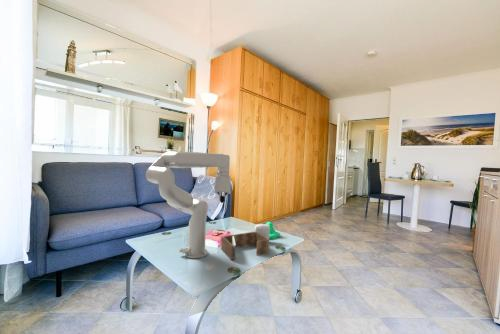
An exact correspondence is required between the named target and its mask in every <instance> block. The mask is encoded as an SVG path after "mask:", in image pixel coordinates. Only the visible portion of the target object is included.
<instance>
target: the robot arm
mask: <svg viewBox="0 0 500 334" xmlns="http://www.w3.org/2000/svg"><path fill="white" fill-rule="evenodd" d="M230 159H231V158H230V155H229V154H224V153H207V152H197V151H196V152H195V151H192V152H191V151H167V152H164V153H163V154H162V155H161V156H160V157H159V158H157V159H156V160H155V162H153V163H152V164H151V165H150V166H149V167H148V168H147V169H146V171H145V178H146V180H147V181H148V182H149V183H152V184H156V185H158V191H159V195H160V197H161V198H162V199H164V200H165V201H166V203H167V204H168V206H170V207H172V208H173V209H175V210H178V211H180V212H183V213H184V214H188V215H191V217H190V218H189V222H188V238H187V239H188V242H187V244H188V245H186V246H185V248H179V251H178V252H179V253H182V254H184V255H185V257H186V258H189V259H193V260H194V259H195V260H196V259H201V258H204V257H206V256H207V255H208V254H209V252H208V249H207V248H206V236H207V235H206V234H207V233H206V230H207V229H206V228H207V217H208V216H207V215H208V212H209V211H208V210H209V205H208V202H207V201H206V200H204V199H201V198H196V197H193V196H192V194H191V193H190V192H187V191H186V190H183V188H180V187H179V186H177V185H176V183H175V174H174V171H173V170H171V168H172V169H173V168H175V169H188V168H190V169H191V168H193V169H194V168H197V169H198V168H200V169H201V168H217V169H216V171H214V174H215V175H216V176H215V179H214V187H213V190H214V191H213V192H214V193H215V194H217V195H218V196H219V202H220V204H224V203H225V201H226V196H227V195H231V194H232V181H231V176H230V165H231V164H230V163H231V162H230V161H231V160H230Z"/></svg>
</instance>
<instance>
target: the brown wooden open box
mask: <svg viewBox="0 0 500 334" xmlns="http://www.w3.org/2000/svg"><path fill="white" fill-rule="evenodd" d="M232 236H234V239H235V240H236V243H235V244H236V248H241V247H246V246H252V245H255V247H256V256H260V255H261V256H262V255H266V254H269V253H270V252H269V251H270V239H267V238H265V237H264V236H262V235H261V234H259V233H257V232H256V231H255V230H254V231H250V232H249V231H248V232H244V233H236V234H229V235H224V236H221V238H220V239H221V241H220V243H221V245H220V250H221V251H222V252H223V254H225V256H226V257H228V259H229V260H230V261H234V259H233V245H232Z"/></svg>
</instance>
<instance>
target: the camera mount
mask: <svg viewBox="0 0 500 334" xmlns="http://www.w3.org/2000/svg"><path fill="white" fill-rule="evenodd" d="M265 224H266V225H269V227H270V233H269V240H270V239H271V240H274V239H278V237H280V236H281V233H280V232H278V231H276V230H275V228H274V223H273V222H270V221H267V222H266V223H265Z"/></svg>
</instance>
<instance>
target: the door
mask: <svg viewBox="0 0 500 334" xmlns="http://www.w3.org/2000/svg"><path fill="white" fill-rule="evenodd" d="M235 243H236V240H235V239H234V236H232V245H233V260H236V255H237V252H236V250H237V247H236V244H235Z"/></svg>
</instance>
